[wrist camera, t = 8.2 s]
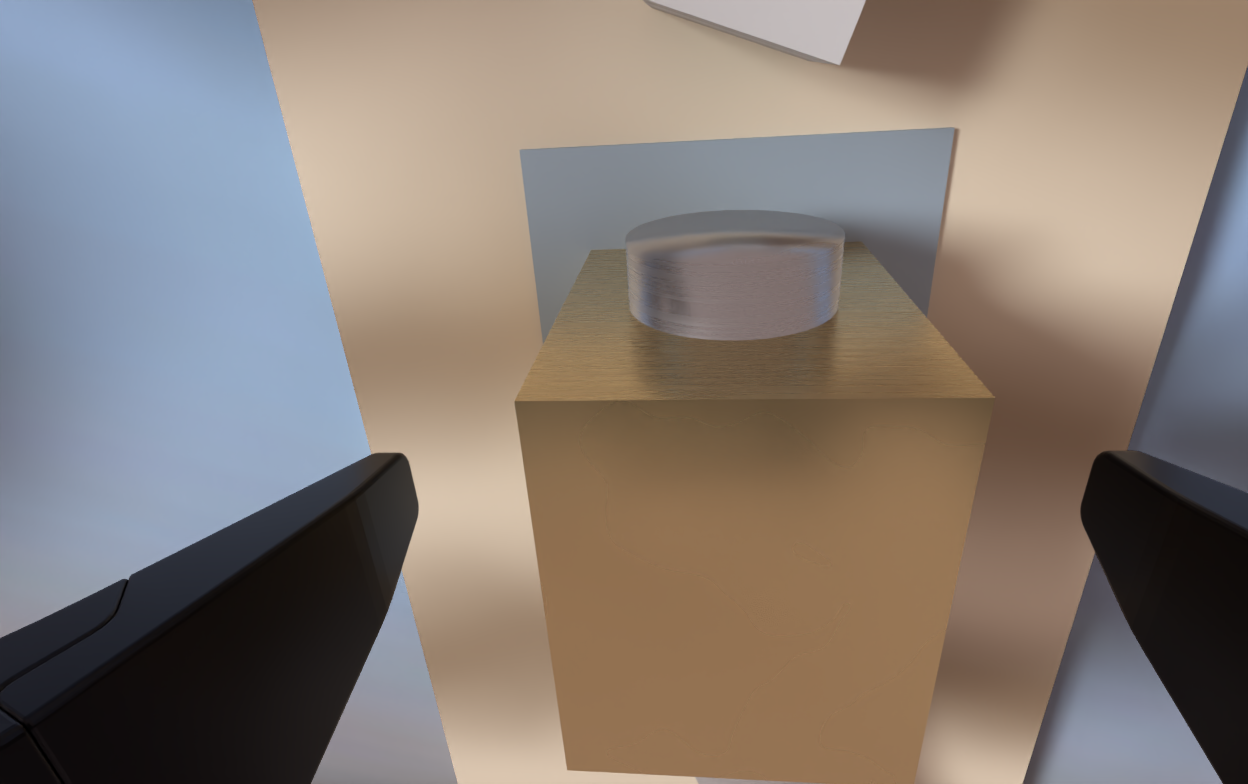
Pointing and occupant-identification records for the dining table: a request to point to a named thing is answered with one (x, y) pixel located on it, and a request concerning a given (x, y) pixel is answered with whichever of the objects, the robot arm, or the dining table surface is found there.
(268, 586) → the robot arm
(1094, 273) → the tan board grey square
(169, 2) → the dining table surface
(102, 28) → the dining table surface
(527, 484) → the block
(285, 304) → the dining table surface
